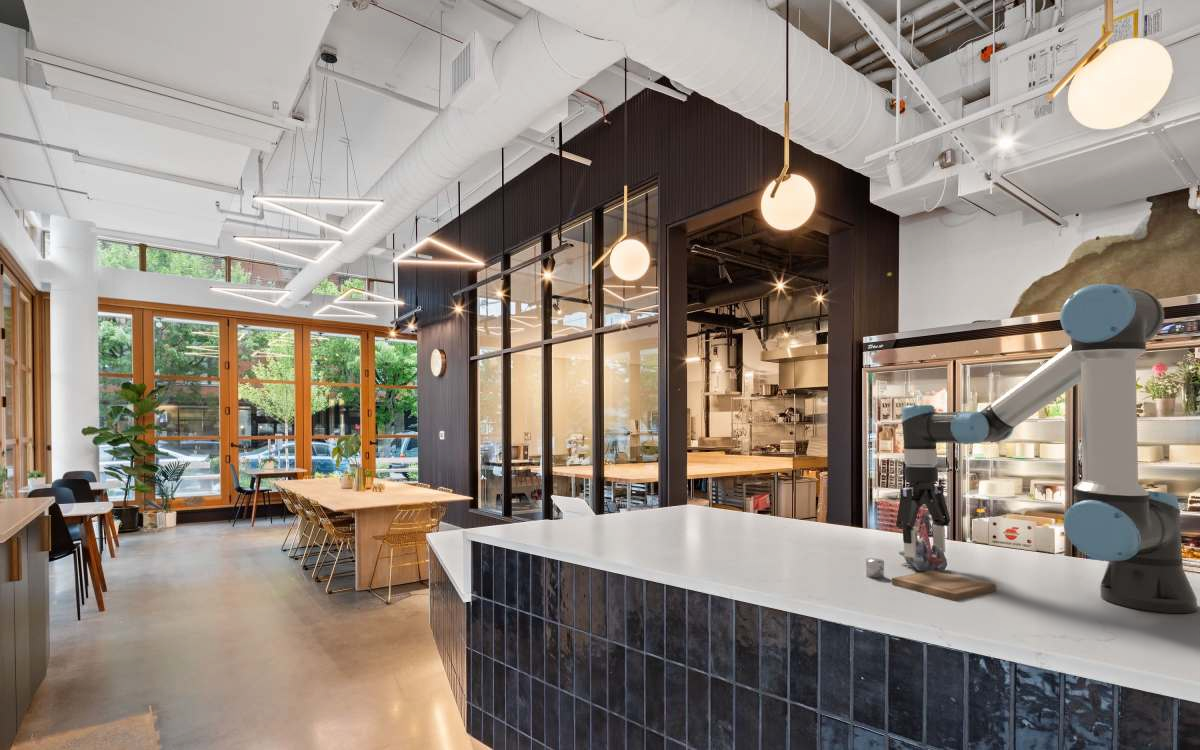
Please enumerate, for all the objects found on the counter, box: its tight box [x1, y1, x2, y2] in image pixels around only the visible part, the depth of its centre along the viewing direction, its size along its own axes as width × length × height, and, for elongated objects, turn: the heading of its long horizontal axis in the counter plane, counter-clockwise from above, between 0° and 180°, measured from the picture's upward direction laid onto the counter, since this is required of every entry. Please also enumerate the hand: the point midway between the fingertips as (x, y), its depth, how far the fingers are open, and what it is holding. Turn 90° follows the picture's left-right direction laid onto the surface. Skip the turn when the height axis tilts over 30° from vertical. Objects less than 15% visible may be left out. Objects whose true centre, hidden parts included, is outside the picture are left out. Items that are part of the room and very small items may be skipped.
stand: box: [891, 570, 997, 602], centre depth 143 cm, size 15×15×2 cm
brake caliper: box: [898, 523, 948, 572], centre depth 160 cm, size 11×11×12 cm
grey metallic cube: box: [865, 557, 885, 580], centre depth 153 cm, size 4×4×4 cm
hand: (925, 554), depth 159 cm, fingers closed on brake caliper, 11 cm apart
